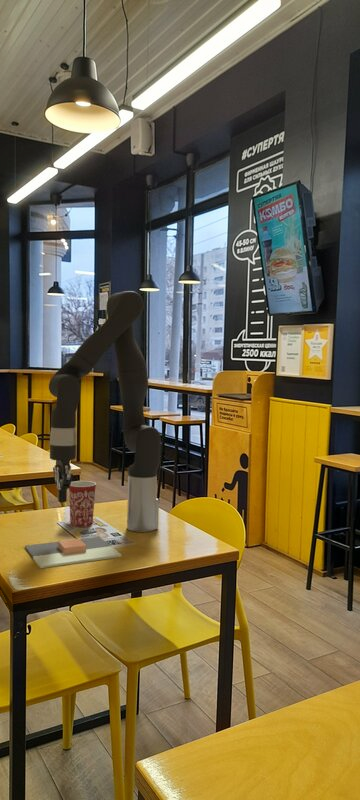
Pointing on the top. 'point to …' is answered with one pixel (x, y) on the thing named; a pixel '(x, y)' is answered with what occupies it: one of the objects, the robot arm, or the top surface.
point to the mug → (81, 503)
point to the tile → (71, 546)
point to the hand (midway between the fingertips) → (62, 501)
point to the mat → (54, 556)
